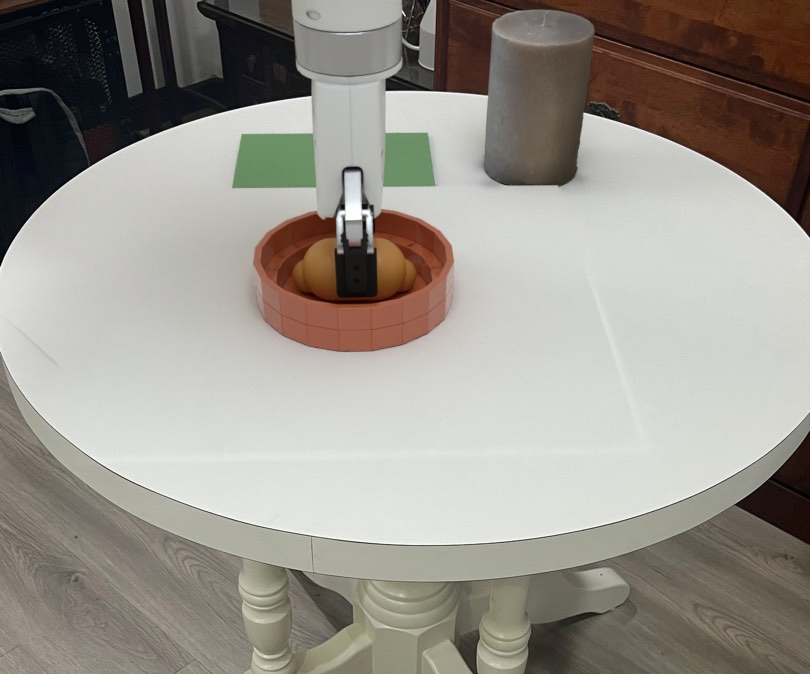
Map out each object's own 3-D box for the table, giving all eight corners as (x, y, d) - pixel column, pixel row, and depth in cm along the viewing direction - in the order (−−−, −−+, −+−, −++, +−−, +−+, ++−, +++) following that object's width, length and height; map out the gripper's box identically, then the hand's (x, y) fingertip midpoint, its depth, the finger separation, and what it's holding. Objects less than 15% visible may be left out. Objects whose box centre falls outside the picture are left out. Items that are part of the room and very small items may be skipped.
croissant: (291, 313, 82) (287, 258, 78) (294, 281, 85) (290, 227, 82) (418, 311, 82) (419, 256, 78) (415, 279, 86) (416, 225, 82)
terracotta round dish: (252, 359, 78) (246, 309, 75) (264, 254, 89) (260, 207, 86) (458, 356, 79) (461, 306, 75) (444, 252, 90) (446, 205, 87)
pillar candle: (596, 170, 102) (620, 12, 91) (531, 199, 97) (549, 37, 87) (526, 139, 107) (541, -14, 96) (462, 166, 102) (470, 8, 92)
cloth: (232, 193, 98) (231, 189, 97) (242, 137, 107) (241, 133, 107) (435, 191, 98) (435, 187, 98) (427, 136, 108) (427, 132, 107)
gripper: (299, 2, 75) (313, 214, 87) (289, 92, 63) (308, 323, 75) (397, 1, 75) (398, 212, 88) (407, 90, 63) (407, 321, 76)
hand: (356, 263), depth 81 cm, fingers open, 9 cm apart
